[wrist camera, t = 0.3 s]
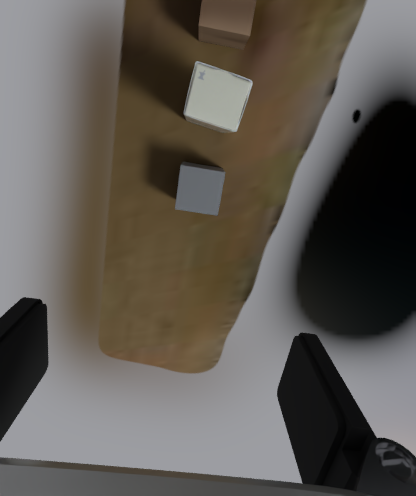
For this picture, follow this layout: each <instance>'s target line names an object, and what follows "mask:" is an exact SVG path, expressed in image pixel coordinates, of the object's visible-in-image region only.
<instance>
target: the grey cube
mask: <svg viewBox="0 0 416 496" xmlns="http://www.w3.org/2000/svg"><path fill="white" fill-rule="evenodd" d="M224 177H225V171H224V170H223V168H219V167H213V166H207V165H201V164H195V163H189V162H183V163H182V164H181V167H180V174H179V182H178V190H177V198H176V206H175V209H178V210H184V211H190V212H197V213H203V214H210V215H216V216H218V211H219V205H220V200H221V194H222V189H223V183H224Z"/></svg>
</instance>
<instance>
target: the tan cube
mask: <svg viewBox="0 0 416 496" xmlns="http://www.w3.org/2000/svg"><path fill="white" fill-rule="evenodd" d="M255 5H256V0H202V3H201V11H200V18H199V41H201V42H206V43H211V44H216V45H221V46H226V47H231V48H236V49H241V50H243V49H244V47H245V45H246V43H247V41H248V39H249V37H250V33H251V27H252V21H253V16H254V10H255Z"/></svg>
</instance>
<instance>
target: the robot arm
mask: <svg viewBox="0 0 416 496" xmlns="http://www.w3.org/2000/svg"><path fill="white" fill-rule="evenodd" d="M47 367H48V331H47V306H46V304H43V303H42V300H40V299H34V298H26V297H24V298H22V299H20V300H19V301H18V302H17V303H16V304H15V305H14V306H13V307H11V308H10V309H9V310H8V311H7V312H6V313H5V314H4V315H3V316H2V317H1V318H0V441H1V440H2V438H3V437H4V435H5V434H6V432H7V431H8V429H9V428H10V426H11V425H12V423H13V421H14V420H15V418H16V417H17V415H18V414H19V412H20V411H21V409H22V408H23V406H24V404H25V403H26V402H27V400H28V398H29V397H30V395H31V394H32V392H33V391H34V389H35V388H36V386H37V385H38V383H39V382H40V380H41V379H42V377H43V375H44V374H45V372H46V370H47ZM277 397H278V401H279V404H280V408H281V411H282V415H283V418H284V421H285V425H286V428H287V432H288V435H289V438H290V442H291V445H292V449H293V452H294V455H295V459H296V462H297V466H298V469H299V473H300V476H301V479H302V483H303V484H301V483H292V482H283V481H273V480H262V479H252V478H241V477H230V476H219V475H209V474H197V473H185V472H175V471H163V470H152V469H140V468H128V467H116V466H105V465H92V464H79V463H67V462H55V461H54V462H53V461H41V460H30V459H16V458H0V496H416V457H415V456H414V455H413V454H412V453H411V452H410V451H409V450H408V449H406V448H405V447H404V446H402V445H401V444H399V443H397V442H395V441H393V440H390V439H387V438H377V437H376V436H375V434H374V432H373V431H372V429H371V427H370V425H369V424H368V422H367V420H366V419H365V417H364V415H363V413H362V412H361V410H360V408H359V407H358V405H357V403H356V401H355V400H354V398H353V396H352V395H351V393H350V391H349V389H348V388H347V386H346V384H345V383H344V381H343V379H342V377H341V376H340V374H339V373H338V371H337V369H336V367H335V366H334V364H333V362H332V360H331V359H330V357H329V355H328V354H327V352H326V350H325V348H324V347H323V345H322V343H321V342H320V340H319V338H318V337H317V335H315V334H309V333H300V334H299V336H295V337H294V339H293V342H292V345H291V349H290V352H289V355H288V358H287V361H286V364H285V368H284V371H283V374H282V377H281V380H280V383H279V386H278V391H277Z"/></svg>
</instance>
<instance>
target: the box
mask: <svg viewBox="0 0 416 496" xmlns="http://www.w3.org/2000/svg"><path fill="white" fill-rule="evenodd" d="M252 84H253V83H252V81H251V80H249V79H247V78H244V77H242V76H239V75H237V74H234V73H231V72H228V71H225V70H222V69H219V68H217V67H214V66H211V65H208V64H205V63H202V62H199V61H196V63H195V67H194V70H193V74H192V78H191V81H190V86H189V90H188V94H187V99H186V103H185V108H184V116H185V118H186V121H189V122H191V123H194V124H197V125H200V126H203V127H206V128H209V129H212V130H215V131H219V132H222V133H228V132H236V131H237V129H238V126H239V123H240V120H241V118H242V115H243V112H244V109H245V106H246V103H247V100H248V97H249V94H250V91H251V87H252Z"/></svg>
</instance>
